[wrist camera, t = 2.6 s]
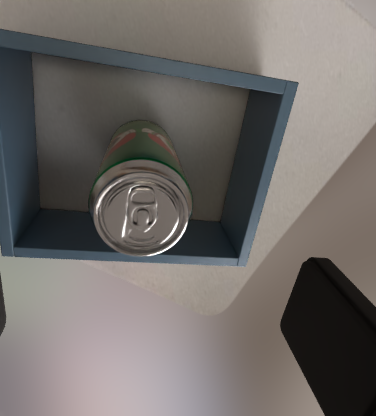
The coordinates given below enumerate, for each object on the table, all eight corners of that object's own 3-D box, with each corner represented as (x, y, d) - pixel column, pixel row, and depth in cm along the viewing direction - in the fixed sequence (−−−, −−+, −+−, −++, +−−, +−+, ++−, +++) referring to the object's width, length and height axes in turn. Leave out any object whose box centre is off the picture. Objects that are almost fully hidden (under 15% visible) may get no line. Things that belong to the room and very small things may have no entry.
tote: (30, 216, 25) (1, 256, 20) (17, 35, 20) (-29, 23, 14) (226, 229, 29) (246, 267, 23) (262, 78, 23) (299, 82, 18)
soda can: (111, 179, 25) (88, 265, 14) (108, 117, 23) (79, 162, 12) (170, 180, 26) (192, 262, 15) (173, 120, 23) (201, 166, 13)
